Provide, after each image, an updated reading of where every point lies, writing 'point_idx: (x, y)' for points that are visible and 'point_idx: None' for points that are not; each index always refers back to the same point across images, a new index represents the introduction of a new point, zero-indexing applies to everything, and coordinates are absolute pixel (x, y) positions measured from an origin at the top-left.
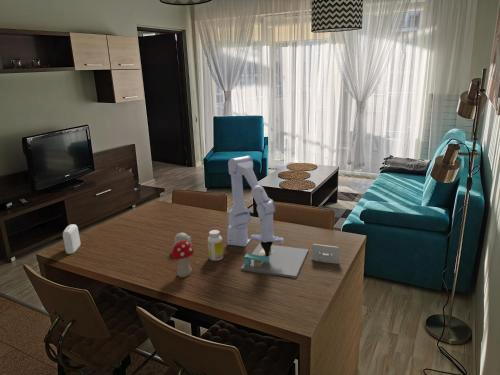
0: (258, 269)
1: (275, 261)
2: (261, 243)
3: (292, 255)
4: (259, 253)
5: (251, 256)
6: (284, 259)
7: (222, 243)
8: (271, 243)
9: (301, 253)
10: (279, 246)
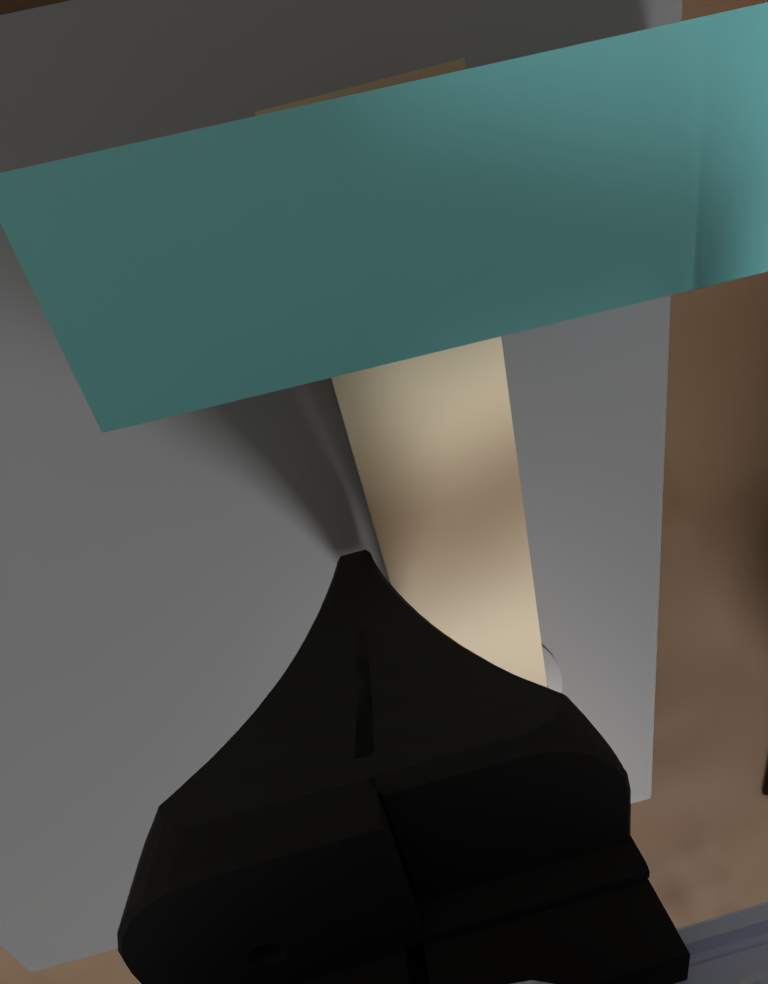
0: (256, 29)
1: (171, 541)
2: (589, 783)
3: (82, 798)
4: (516, 543)
5: (629, 148)
6: (91, 664)
7: None
8: (163, 979)
9: (19, 883)
10: None
